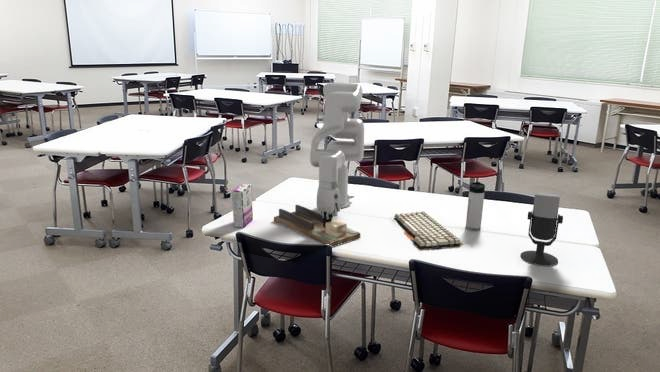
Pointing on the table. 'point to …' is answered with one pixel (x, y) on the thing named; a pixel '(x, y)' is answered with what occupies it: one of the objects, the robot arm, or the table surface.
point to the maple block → (336, 228)
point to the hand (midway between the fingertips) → (327, 227)
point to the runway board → (312, 226)
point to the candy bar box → (242, 205)
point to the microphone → (543, 229)
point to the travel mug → (475, 206)
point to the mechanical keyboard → (426, 231)
